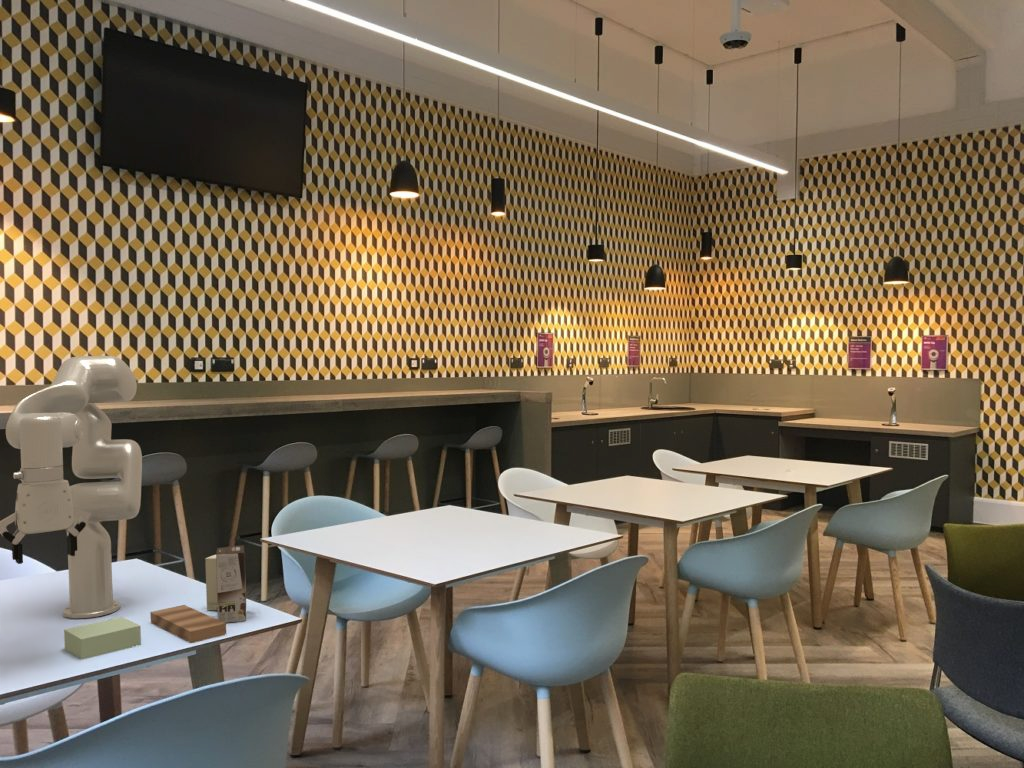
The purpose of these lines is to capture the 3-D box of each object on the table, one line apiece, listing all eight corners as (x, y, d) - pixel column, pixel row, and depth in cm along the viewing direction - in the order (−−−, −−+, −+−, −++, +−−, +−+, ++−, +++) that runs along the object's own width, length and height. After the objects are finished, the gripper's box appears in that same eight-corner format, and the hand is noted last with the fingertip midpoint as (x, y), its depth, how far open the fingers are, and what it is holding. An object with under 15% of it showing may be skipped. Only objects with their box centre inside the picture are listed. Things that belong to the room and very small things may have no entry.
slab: (64, 650, 185) (64, 629, 185) (122, 636, 193) (121, 616, 193) (82, 661, 178) (81, 639, 178) (141, 646, 186) (140, 625, 186)
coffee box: (246, 621, 202) (244, 552, 201) (217, 624, 200) (215, 554, 199) (247, 610, 210) (244, 544, 210) (219, 613, 209) (216, 546, 208)
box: (222, 611, 210) (220, 558, 210) (206, 610, 211) (204, 558, 211) (233, 605, 216) (232, 553, 215) (217, 604, 216) (215, 553, 216)
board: (150, 624, 202) (150, 612, 202) (184, 617, 208) (184, 604, 208) (191, 645, 187) (190, 631, 186) (226, 636, 192) (225, 623, 192)
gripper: (-2, 481, 169) (1, 569, 170) (93, 472, 181) (96, 554, 181) (-10, 478, 175) (-7, 563, 175) (82, 470, 186) (85, 549, 187)
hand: (45, 558), depth 178 cm, fingers open, 9 cm apart
